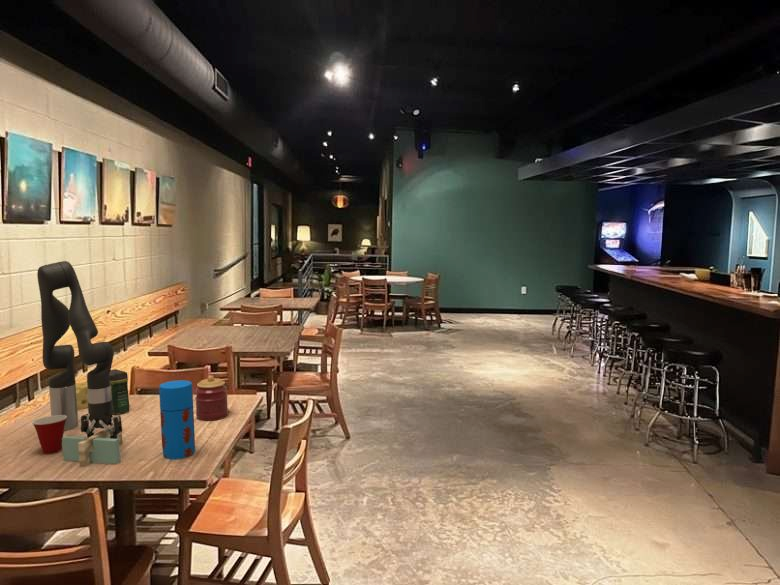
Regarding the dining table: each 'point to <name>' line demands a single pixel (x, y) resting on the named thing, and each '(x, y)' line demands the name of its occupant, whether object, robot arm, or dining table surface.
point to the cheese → (81, 395)
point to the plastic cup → (50, 432)
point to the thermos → (177, 419)
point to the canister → (211, 399)
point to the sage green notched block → (101, 453)
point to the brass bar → (87, 446)
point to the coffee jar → (119, 391)
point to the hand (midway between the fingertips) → (102, 444)
